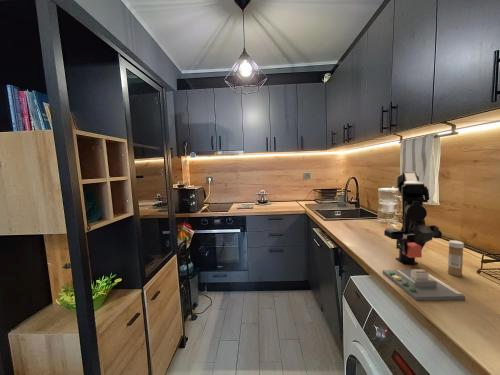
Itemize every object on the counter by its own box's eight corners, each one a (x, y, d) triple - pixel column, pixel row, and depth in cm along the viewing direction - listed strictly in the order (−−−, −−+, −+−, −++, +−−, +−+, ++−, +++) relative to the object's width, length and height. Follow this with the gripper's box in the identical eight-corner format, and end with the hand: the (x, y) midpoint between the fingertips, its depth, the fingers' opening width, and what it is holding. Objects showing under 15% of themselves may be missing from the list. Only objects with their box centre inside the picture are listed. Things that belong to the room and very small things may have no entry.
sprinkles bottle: (464, 275, 93) (466, 242, 92) (458, 277, 91) (460, 244, 90) (451, 270, 97) (452, 239, 96) (444, 272, 95) (446, 241, 94)
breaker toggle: (410, 279, 88) (410, 269, 88) (422, 279, 88) (422, 269, 88) (416, 283, 85) (416, 272, 85) (428, 283, 85) (428, 272, 85)
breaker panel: (382, 273, 97) (382, 265, 97) (421, 272, 97) (421, 264, 96) (416, 300, 77) (416, 291, 77) (464, 299, 77) (465, 290, 76)
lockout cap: (402, 253, 93) (402, 242, 92) (413, 253, 93) (413, 242, 92) (409, 257, 88) (410, 246, 88) (421, 257, 88) (421, 246, 88)
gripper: (401, 220, 81) (400, 263, 83) (455, 219, 81) (453, 262, 82) (383, 214, 92) (383, 252, 94) (431, 213, 92) (429, 251, 93)
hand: (411, 254), depth 90 cm, fingers closed on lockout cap, 4 cm apart
